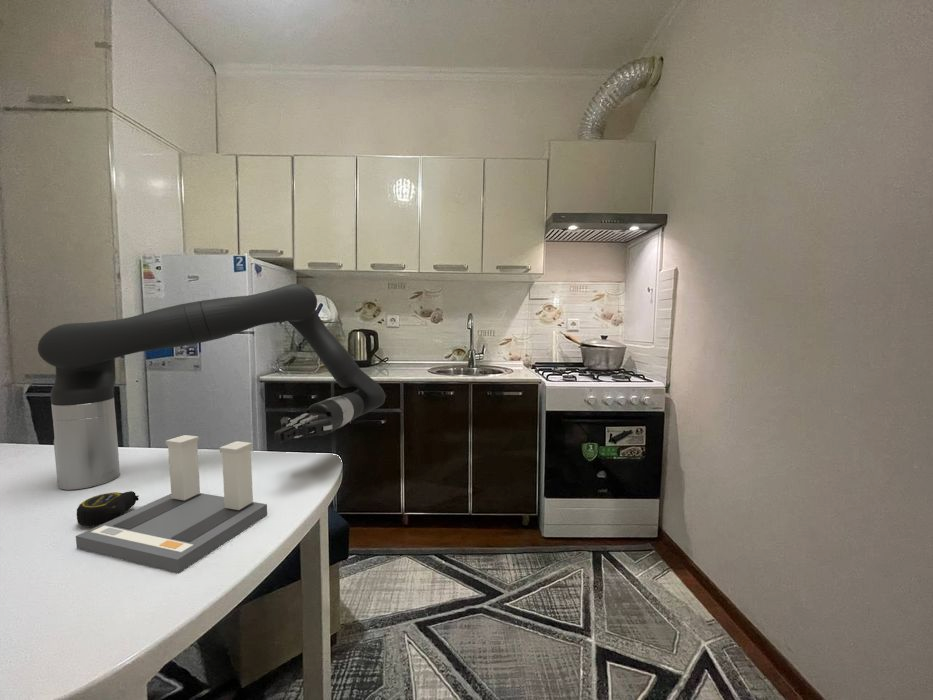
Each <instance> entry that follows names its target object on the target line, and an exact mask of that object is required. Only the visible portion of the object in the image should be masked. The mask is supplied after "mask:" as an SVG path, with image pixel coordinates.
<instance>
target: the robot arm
mask: <svg viewBox="0 0 933 700" xmlns="http://www.w3.org/2000/svg"><path fill="white" fill-rule="evenodd" d="M317 306H318V298H317V296H316V294H315V292H314V291H313V290H312V289H311V288H309V287H308V286H305V285H304V284H301V283H291V284H287V285H285V286H281V287H278V288H274V289H271V290H267V291H263V292H258V293H254V294H250V295H249V294H248V295H241V296H240V295H239V296H238V295H237V296H228V297H221V298H220V297H218V298H212V299H205V300H204V299H203V300H198V301H192V302H186V303H180V304H176V305H172V306H168V307H163V308H160V309H159V308H158V309H156V310H155V309H154V310H151V311H148V312H144V313H141V314H136V315H133V316H129V317H124V318H118V319H117V318H116V319H111V320H102V321H93V322H73V323H72V322H70V323H64V324H60V325H59V324H58V325H57V326H54V327H52V328H50V329H49V330H47V332H45V333H44V334H43V335H42V337H41V338H40V339H39V341H38V343H37V352H38V354H39V356H40V357H41V359H42V360H43V361H44V362H46V363H47V364H49V365H51V366H53V367H55V381H54V384H53V387H52V388H51V390H50V403H51V415H52V422H53V423H52V424H53V425H52V426H53V435H54V437H53V438H54V439H53V447H54V449H53V450H54V460H55V470H56V481H57V484H58V489H59V488H60V489H61V490H66V491H67V490H68V491H70V490H79V489H80V490H81V489H86V488H87V489H88V488H92V487H96V486H99V485H102V484H105V483H108V482H111V481H113V480H115V479H117V478H119V476H120V475H121V473H120V472H121V470H120V469H121V468H120V457H119V455H120V454H119V443H118V431H117V419H116V418H117V417H116V408H115V407H116V406H115V385H116V359H117V358H120V357H124V356H127V355H133V354H135V353H140V352H148V351H156V350H164V349H170V348H171V349H172V348H173V349H174V348H179V347H185V346H186V347H187V346H190V345H197V344H201V343H205V342H210V341H214V340H219V339H222V338H226V337H229V336H233V335H236V334H238V333H242V332H244V331H247V330H249V329H252V328H255V327H258V326H263V325H268V324H274V323H275V324H276V323H282V322H284V323H285V322H288V323H289V324H290V325H291V326H292V327H293V328H294V329H295V330H296V331H297V332H298V333H299V334H300V335H301V336H302V337H303V339H304V340H305V341H306V342H307V344H308V345H309V346H310V347H311V349H313V351H314V353H315V354H316V355H317V357H318V358H319V360H320V361H321V363H322V364H323V365H324V367H325V368H326V370H327V371H328V372H329V373H330V375H331V377H332V378H333V380H335V382H336V383H337V384H338V385H339V386H340V387H341V388H349V387H355V388H356V390H354V391H352V392H347V393H344V394H340V395H339V396H334V397H330V398H326V399H324V400H321V401H319V402H316V403H313V404H311V405H310V406H309V407H308V408H307V410H306V411H305V413H303V414H301V415H299V416H296V417H295V418H293V419H291V418H290V417H288V416H283V417H281V423H280V428H279V429H278V430H275V431H274V432H273V441H274V443H279V444H280V443H281V444H282V443H284V442H287V441H289V440H292V439H299V438H301V437H302V438H305V439H307V438H310V437H317V436H326V435H328V434H332V433H333V432H334V431H336V430H338V429H340V428H342V427H344V426H345V425H347V424H348V423H350V422H352V421H353V420H355V419H357V418H358V417H361V416H363V415H365V414H368V413H369V412H371V411H373V410H376V409H377V408H380V407H381V406H383V405H384V403H385V401H386V393H385V391H384V389H383V388H382V387H381V385H380V383H378V382H377V381H376V380H374V379H373V378H372V377H370V376H369V374H367V373H366V372H365V371H363V370H362V369H361V368H360V367H359V365H358V363H357V362H356V361H355V360H354V358H353V357H352V355H351V354H350V353H349V351H348V350H347V349H346V348H345V347H344V346H343V345H342V343H340V341H339V340H338V339H337V338H336V337H335V336H334V335H333V334H332V333H331V332H330V330H329V329H328V328H327V326H326V325H325V324H324V322H323V320H322V319H321V317H320V316H319V314H318V312H317V310H316V309H317V308H318V307H317Z"/></svg>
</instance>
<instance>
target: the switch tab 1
mask: <svg viewBox="0 0 933 700" xmlns="http://www.w3.org/2000/svg"><path fill="white" fill-rule="evenodd" d="M199 441H200V437H199V436H196V435H188V434H184V435H180V436H177V437H174V438H169V439H166V440H165V445H166V446H167V448H168V450H167V451H168V461H169V462H168V465H169V479H170V480H169V481H170V494H171V498H173V499H179V500H187V499H189V498H191V497H193V496H195V495H197V494H199V493H201V487H200V486H201V485H200V472H199V471H200V470H199V467H200V466H199V451H198V442H199Z"/></svg>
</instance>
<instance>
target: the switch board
mask: <svg viewBox="0 0 933 700" xmlns="http://www.w3.org/2000/svg"><path fill="white" fill-rule="evenodd" d="M267 516H268V504H267V503H261V502H257V501H253V502H252V503H250V504H249V505H247V506H245V507H244V508H242V509H240V510H235V509H229V508H225V502H224V496H219V495H215V494H209V493H208V494H207V493H202V492H200V493H199V494H197V495H195V496H193V497H191V498H189V499H187V500H179V499H173V498H171V493H168V494H167V495H165V496H163V497H160V498H158V499H156V500H155V499H154V500H153V501H152V502H150V503H147V504H145V505H142V506H140V507H138V508H136V509H132V510H131V511H129V512H126V513H125V514H124V515H122V516H120V517H117V518H115V519H113V520H111V521H108V522H106V523H104V524H102V525H98V526H94V527H92V528H91V529H89V530H86V531H84V532H82V533H80V534H77V535H75V543H76V549H77V550H81V551H85V552H89V553H94V554H98V555H101V556H102V555H103V556H106V557H109V558H113V559H118V560H122V561H126V562H131V563H134V564H139V565H142V566H146V567H151V568H154V569H159V570H163V571H167V572H171V573H176V574H180V573H181V572H184V570H186V569H187V568H189V567H191V566H192V565H193V564H195V563H197V562H198V561H199V560H200V561H201V559H202V558H204V557H206V556H207V555H208V554H210V553H211V552H213V551H215V550H216V549H218V548H219V547H221V546H222V545H223V544H226V543H228V541H230V540H232V539H233V538H235V537H236V536H237V535H239V534H241V533H243V532H244V531H245V530H246V529H248V528H250V527H252V526H253V525H255V524H256V523H257V522H259V521H260V520H262V519H264V518H265V517H267Z"/></svg>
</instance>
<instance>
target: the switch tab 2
mask: <svg viewBox="0 0 933 700" xmlns="http://www.w3.org/2000/svg"><path fill="white" fill-rule="evenodd" d="M252 448H253V442H247V441H238V440H237V441H236V440H235V441H233V442H231V443H228V444H226V445H222V446H219V453H221V457H222V459H221V460H222V461H221V462H222V478H223V481H222V482H223V497H224V502H225V508H229V509H235V510H240V509H242V508H244V507H245V506H247V505H249V504H250V503H252V502H254V496H253V491H254V490H253V475H252V474H253V472H252V450H251V449H252Z"/></svg>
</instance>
